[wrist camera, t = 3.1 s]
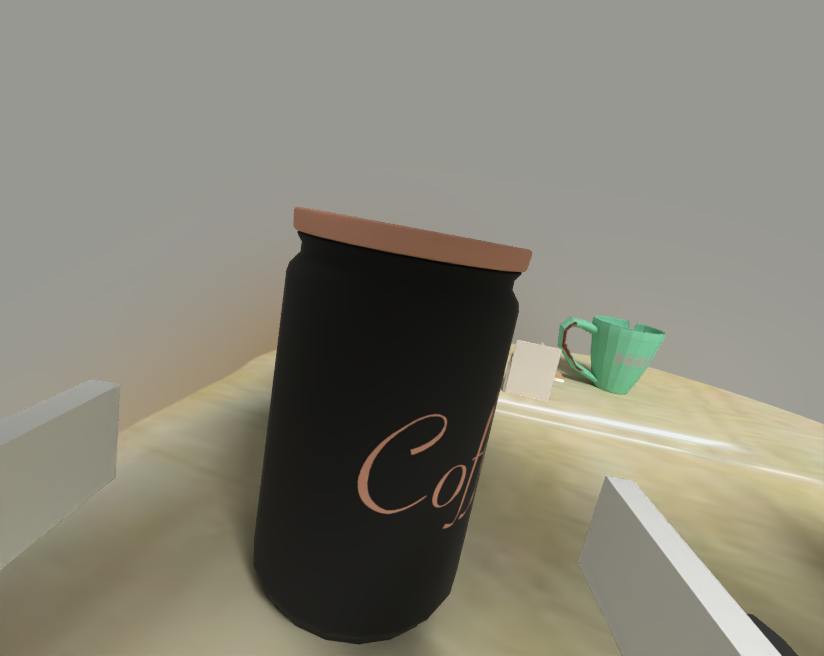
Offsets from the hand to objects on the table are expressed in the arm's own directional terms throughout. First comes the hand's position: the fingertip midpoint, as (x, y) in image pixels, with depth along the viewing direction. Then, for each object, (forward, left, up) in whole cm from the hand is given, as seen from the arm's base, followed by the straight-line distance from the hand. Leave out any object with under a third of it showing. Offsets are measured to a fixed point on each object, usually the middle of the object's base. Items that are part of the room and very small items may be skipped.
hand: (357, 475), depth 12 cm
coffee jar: (-1, -10, -12) cm, 15 cm away
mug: (-35, -51, -12) cm, 63 cm away
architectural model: (-21, -42, -12) cm, 48 cm away
